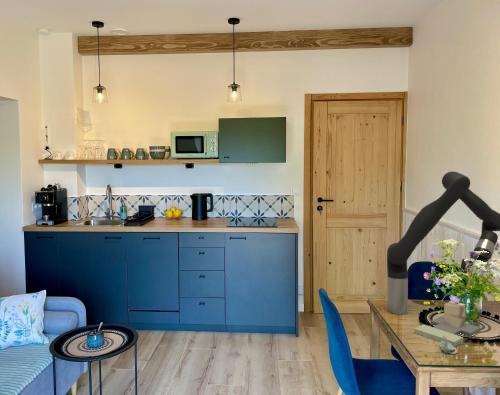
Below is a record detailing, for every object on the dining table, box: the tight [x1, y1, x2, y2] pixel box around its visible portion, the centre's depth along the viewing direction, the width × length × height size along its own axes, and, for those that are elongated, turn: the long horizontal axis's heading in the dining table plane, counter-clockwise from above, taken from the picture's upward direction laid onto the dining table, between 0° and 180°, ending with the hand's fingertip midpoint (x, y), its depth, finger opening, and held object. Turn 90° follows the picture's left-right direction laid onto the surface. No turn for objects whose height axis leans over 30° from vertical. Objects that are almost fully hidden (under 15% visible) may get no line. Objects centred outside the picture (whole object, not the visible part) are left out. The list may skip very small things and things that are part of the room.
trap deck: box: [414, 315, 482, 348], centre depth 170 cm, size 22×17×2 cm
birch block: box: [443, 300, 466, 328], centre depth 173 cm, size 6×6×9 cm
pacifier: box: [439, 335, 458, 355], centre depth 154 cm, size 7×6×6 cm
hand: (470, 281), depth 181 cm, fingers open, 5 cm apart
